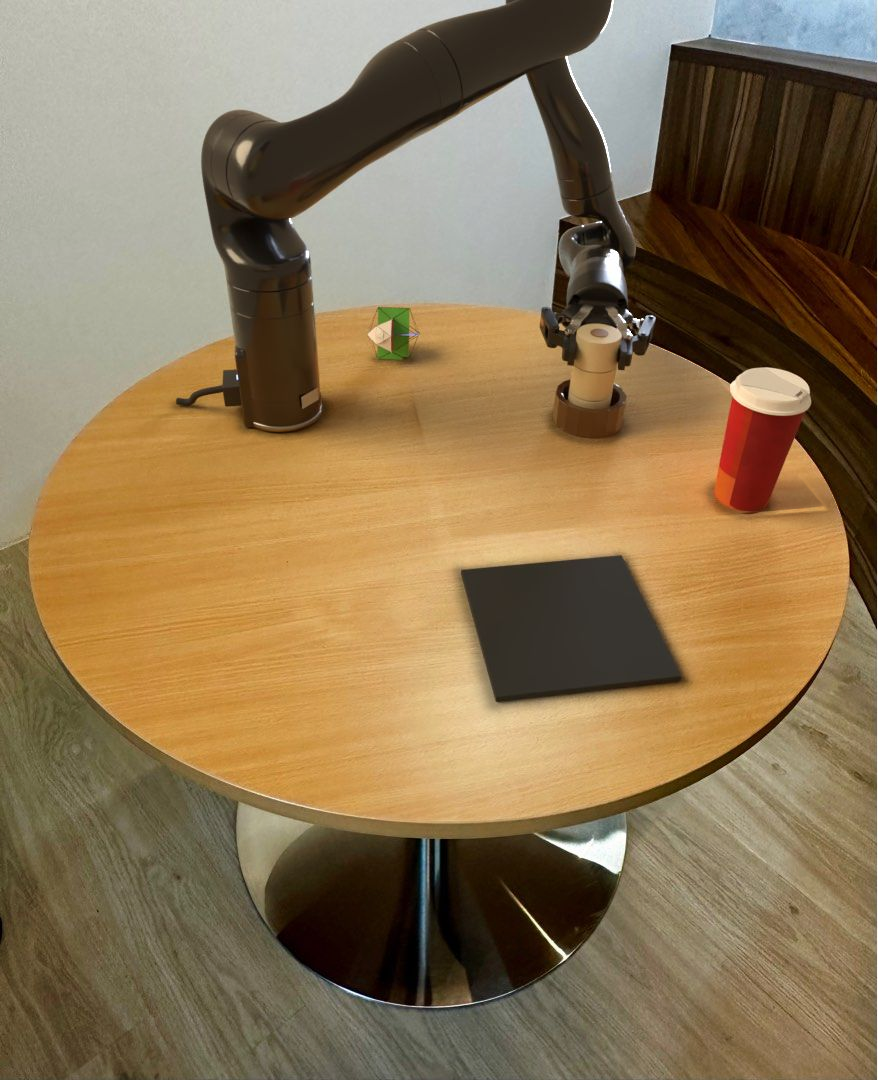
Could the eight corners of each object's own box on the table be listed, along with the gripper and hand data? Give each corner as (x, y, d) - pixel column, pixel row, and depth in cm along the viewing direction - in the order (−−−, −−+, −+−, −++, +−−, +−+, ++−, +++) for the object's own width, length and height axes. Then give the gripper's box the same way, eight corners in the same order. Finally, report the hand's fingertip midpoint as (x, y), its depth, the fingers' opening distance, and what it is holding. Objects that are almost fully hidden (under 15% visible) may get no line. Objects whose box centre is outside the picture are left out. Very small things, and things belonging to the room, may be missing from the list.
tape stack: (572, 430, 104) (584, 343, 97) (560, 408, 108) (571, 323, 100) (613, 427, 104) (627, 341, 97) (600, 405, 108) (613, 321, 101)
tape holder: (563, 444, 103) (566, 414, 100) (545, 407, 109) (548, 379, 107) (630, 439, 104) (635, 409, 101) (609, 403, 110) (613, 375, 108)
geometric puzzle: (371, 322, 122) (366, 292, 114) (421, 324, 122) (419, 294, 114) (368, 370, 120) (363, 344, 112) (419, 372, 120) (417, 345, 112)
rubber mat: (495, 701, 72) (496, 697, 72) (460, 574, 85) (461, 569, 84) (680, 681, 75) (682, 676, 74) (620, 559, 87) (621, 554, 86)
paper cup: (789, 498, 95) (828, 382, 87) (756, 530, 91) (793, 412, 82) (723, 469, 99) (754, 356, 91) (689, 498, 95) (717, 383, 86)
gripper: (542, 264, 110) (535, 324, 96) (659, 273, 108) (668, 334, 95) (537, 320, 114) (529, 384, 101) (649, 329, 113) (656, 396, 100)
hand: (597, 360), depth 98 cm, fingers closed on tape stack, 5 cm apart
